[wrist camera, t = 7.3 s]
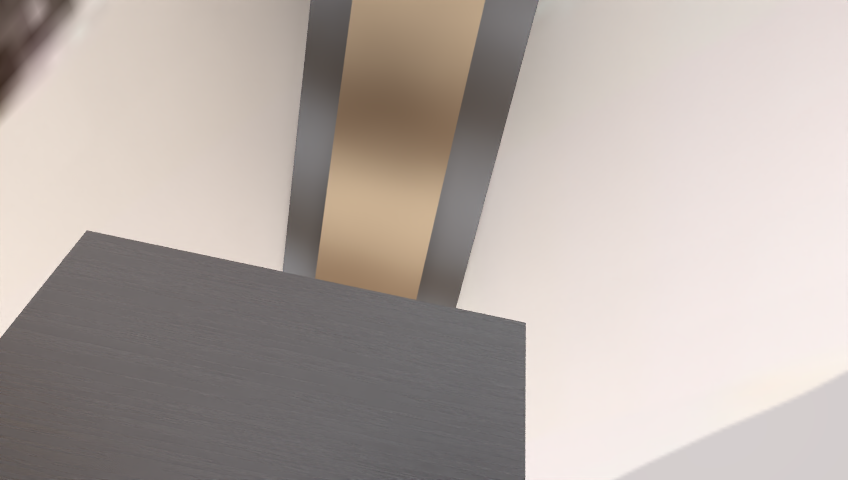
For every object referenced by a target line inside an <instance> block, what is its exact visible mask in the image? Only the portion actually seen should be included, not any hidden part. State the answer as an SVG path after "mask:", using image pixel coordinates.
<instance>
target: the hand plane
mask: <svg viewBox="0 0 848 480" xmlns="http://www.w3.org/2000/svg"><path fill="white" fill-rule="evenodd" d="M537 4H538V0H311V4H310V14H309V23H308V33H307V43H306V52H305V62H304V71H303V81H302V91H301V100H300V110H299V120H298V129H297V139H296V149H295V158H294V168H293V178H292V187H291V197H290V206H289V216H288V226H287V235H286V245H285V255H284V264H283V272H286V273H291V274H296V275H301V276H305V277H310V278H315V279H320V280H324V281H329V282H334V283H339V284H343V285H348V286H353V287H358V288H362V289H367V290H372V291H377V292H381V293H386V294H391V295H396V296H400V297H405V298H410V299H415V300H419V301H424V302H429V303H434V304H438V305H443V306H448V307H453V308H456V305H457V301H458V297H459V294H460V290H461V286H462V282H463V279H464V275H465V271H466V268H467V264H468V260H469V256H470V253H471V249H472V245H473V242H474V238H475V234H476V230H477V227H478V223H479V219H480V216H481V212H482V208H483V204H484V201H485V197H486V193H487V190H488V186H489V182H490V179H491V175H492V171H493V167H494V164H495V160H496V156H497V153H498V149H499V145H500V141H501V138H502V134H503V130H504V127H505V123H506V119H507V115H508V112H509V108H510V104H511V101H512V97H513V93H514V89H515V86H516V82H517V78H518V75H519V71H520V67H521V64H522V60H523V56H524V52H525V49H526V45H527V41H528V38H529V34H530V30H531V26H532V23H533V19H534V15H535V12H536V8H537Z"/></svg>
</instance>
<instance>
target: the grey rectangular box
mask: <svg viewBox="0 0 848 480" xmlns="http://www.w3.org/2000/svg"><path fill="white" fill-rule="evenodd" d="M525 357H526V323H524V322H519V321H514V320H510V319H505V318H500V317H495V316H491V315H486V314H481V313H476V312H472V311H467V310H462V309H457V308H453V307H448V306H443V305H438V304H434V303H429V302H424V301H419V300H415V299H410V298H405V297H400V296H396V295H391V294H386V293H381V292H377V291H372V290H367V289H362V288H358V287H353V286H348V285H343V284H339V283H334V282H329V281H324V280H320V279H315V278H310V277H305V276H301V275H296V274H291V273H286V272H282V271H277V270H272V269H267V268H263V267H258V266H253V265H248V264H244V263H239V262H234V261H229V260H225V259H220V258H215V257H210V256H206V255H201V254H196V253H191V252H187V251H182V250H177V249H172V248H168V247H163V246H158V245H153V244H149V243H144V242H139V241H134V240H130V239H125V238H120V237H115V236H111V235H106V234H101V233H96V232H92V231H86V232H85V233H84V235H83V236H82V237H81V238H80V240H79V241H78V242H77V243H76V245H75V246H74V247H73V248H72V250H71V251H70V252H69V253H68V255H67V256H66V257H65V258H64V260H63V261H62V262H61V263H60V265H59V266H58V267H57V268H56V270H55V271H54V272H53V273H52V275H51V276H50V277H49V278H48V280H47V281H46V282H45V283H44V285H43V286H42V287H41V288H40V289H39V291H38V292H37V293H36V294H35V296H34V297H33V298H32V299H31V301H30V302H29V303H28V304H27V306H26V307H25V308H24V309H23V311H22V312H21V313H20V314H19V316H18V317H17V318H16V319H15V321H14V322H13V323H12V324H11V326H10V327H9V328H8V329H7V331H6V332H5V333H4V334H3V336H2V337H1V338H0V480H525Z"/></svg>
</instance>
